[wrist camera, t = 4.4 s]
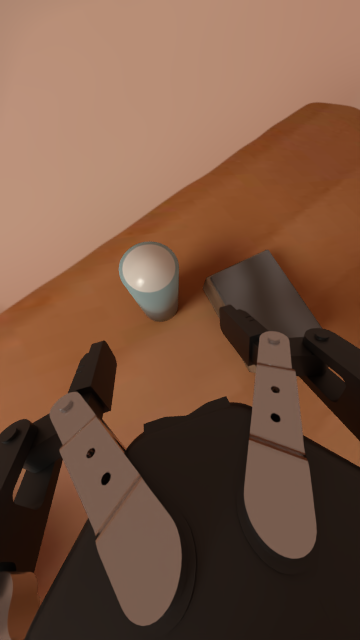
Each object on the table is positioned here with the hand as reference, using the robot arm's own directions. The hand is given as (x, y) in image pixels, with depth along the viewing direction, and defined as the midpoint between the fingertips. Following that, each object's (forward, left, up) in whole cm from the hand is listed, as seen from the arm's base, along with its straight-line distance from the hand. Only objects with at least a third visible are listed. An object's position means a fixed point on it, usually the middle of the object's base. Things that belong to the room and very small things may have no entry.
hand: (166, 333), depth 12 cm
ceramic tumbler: (-1, -6, -11) cm, 13 cm away
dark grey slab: (-12, +1, -11) cm, 17 cm away
